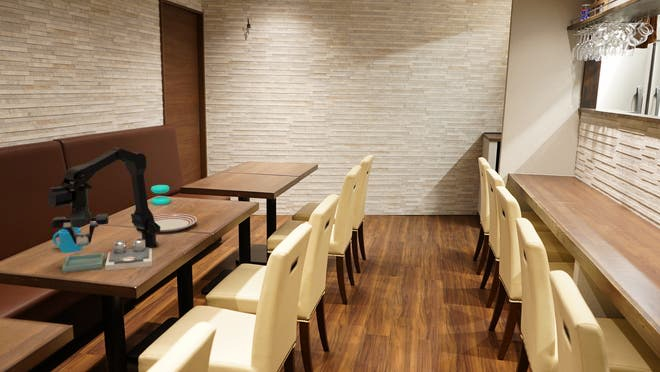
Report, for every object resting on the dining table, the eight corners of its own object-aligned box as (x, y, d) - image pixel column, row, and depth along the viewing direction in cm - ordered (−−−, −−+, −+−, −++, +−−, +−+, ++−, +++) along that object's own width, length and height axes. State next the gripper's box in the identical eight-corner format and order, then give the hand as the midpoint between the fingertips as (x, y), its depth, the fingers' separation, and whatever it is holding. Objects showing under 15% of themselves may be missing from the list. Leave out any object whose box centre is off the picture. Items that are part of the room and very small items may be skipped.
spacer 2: (114, 250, 208) (113, 240, 207) (126, 249, 209) (126, 239, 208) (113, 254, 203) (112, 244, 203) (126, 253, 205) (125, 243, 204)
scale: (108, 257, 209) (108, 248, 208) (152, 253, 213) (151, 245, 213) (105, 271, 193) (104, 262, 192) (152, 266, 198) (151, 257, 197)
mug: (86, 247, 221) (85, 228, 220) (74, 253, 213) (72, 233, 212) (60, 245, 223) (58, 226, 222) (47, 251, 215) (45, 232, 214)
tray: (67, 261, 204) (67, 256, 203) (104, 257, 208) (104, 253, 207) (62, 272, 192) (62, 267, 191) (101, 268, 196) (101, 263, 195)
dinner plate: (175, 237, 236) (174, 230, 235) (123, 232, 245) (123, 225, 244) (208, 222, 261) (207, 216, 261) (160, 218, 270) (160, 211, 269)
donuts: (155, 188, 293) (148, 185, 301) (156, 206, 295) (149, 203, 302) (172, 186, 299) (165, 183, 307) (173, 203, 301) (166, 200, 309)
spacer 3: (133, 249, 210) (132, 239, 209) (145, 248, 211) (145, 238, 210) (133, 252, 206) (132, 242, 205) (145, 251, 207) (144, 241, 206)
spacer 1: (77, 243, 199) (76, 232, 199) (90, 242, 201) (89, 231, 200) (75, 246, 195) (74, 236, 195) (89, 245, 197) (88, 235, 196)
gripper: (46, 208, 185) (51, 252, 188) (105, 205, 190) (108, 247, 193) (52, 202, 195) (56, 243, 198) (107, 198, 201) (110, 238, 204)
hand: (83, 243), depth 198 cm, fingers closed on spacer 1, 4 cm apart
